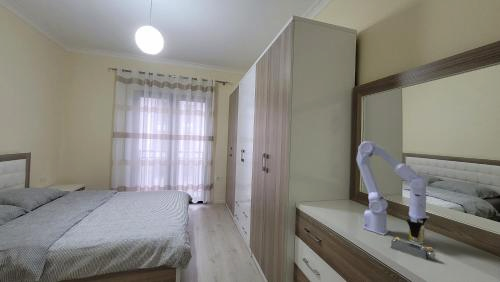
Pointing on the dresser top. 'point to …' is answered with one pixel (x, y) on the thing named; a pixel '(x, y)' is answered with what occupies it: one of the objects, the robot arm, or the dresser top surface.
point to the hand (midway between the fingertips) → (416, 234)
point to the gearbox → (411, 249)
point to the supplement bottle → (420, 238)
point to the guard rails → (426, 247)
